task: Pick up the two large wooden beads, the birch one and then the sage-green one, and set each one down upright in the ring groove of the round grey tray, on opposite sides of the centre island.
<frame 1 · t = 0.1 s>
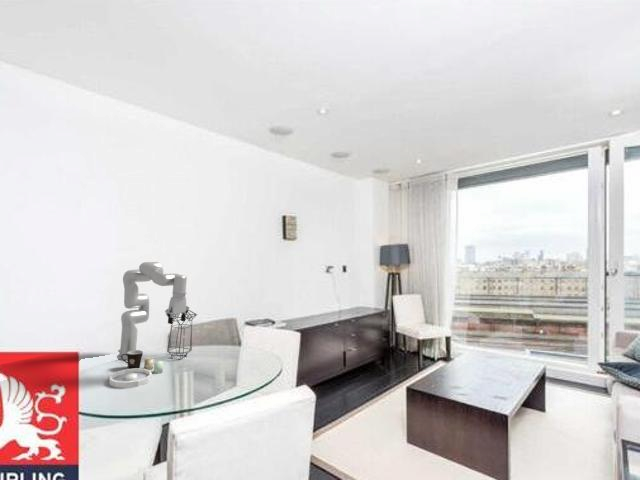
hand: (176, 322, 212), 31 cm above the table, tool pointing down, fingers open, 9 cm apart
geometric lantern: (179, 356, 240), on the table
groove tray: (130, 380, 195), on the table
coffee mug: (131, 368, 214), on the table
sage bead: (157, 372, 210), on the table
birch bead: (148, 368, 214), on the table
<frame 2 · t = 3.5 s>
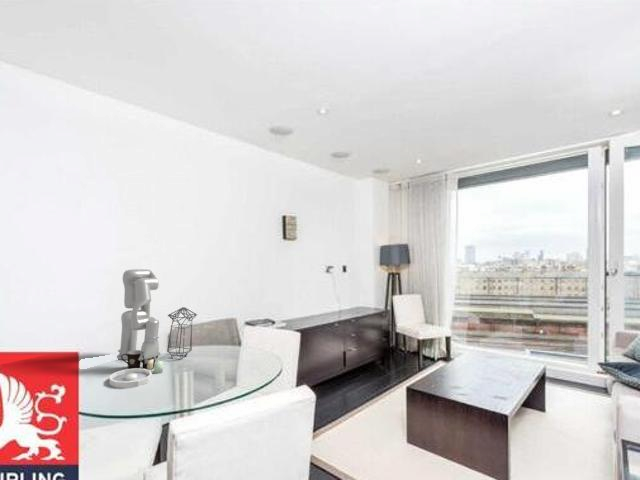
hand: (148, 368, 214), 0 cm above the table, tool pointing down, fingers closed on birch bead, 4 cm apart
birch bead: (148, 368, 214), on the table, touching gripper
everything else where it was.
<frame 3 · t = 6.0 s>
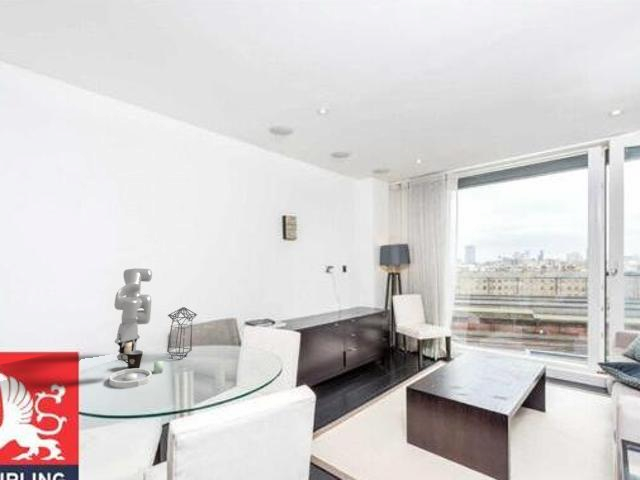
hand: (126, 351, 199), 15 cm above the table, tool pointing down, fingers closed on birch bead, 4 cm apart
birch bead: (126, 352, 198), point 15 cm above the table, touching gripper
everything else where it was.
when the fingers open (3 cm above the table, at t = 8.5 s): birch bead drops 1 cm, resting on groove tray.
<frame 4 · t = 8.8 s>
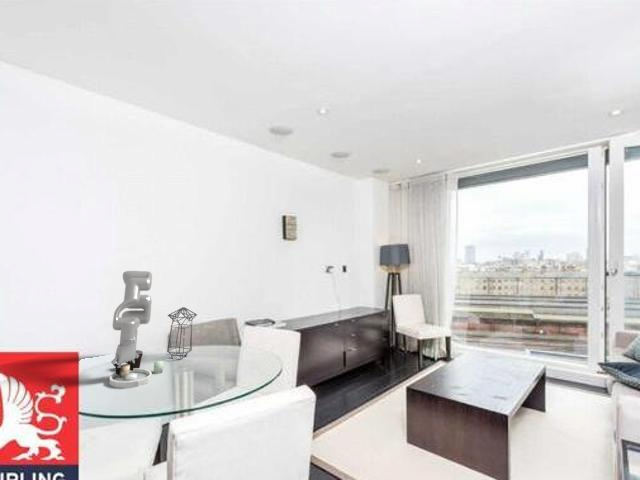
hand: (124, 371, 198), 3 cm above the table, tool pointing down, fingers open, 7 cm apart
birch bead: (124, 375, 198), point 1 cm above the table, touching groove tray
everything else where it was.
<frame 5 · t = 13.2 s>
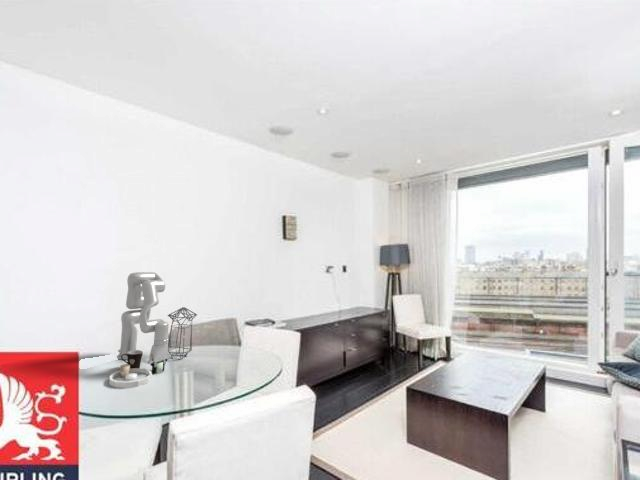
hand: (158, 371, 210), 0 cm above the table, tool pointing down, fingers closed on sage bead, 4 cm apart
sage bead: (158, 372, 210), on the table, touching gripper
everything else where it was.
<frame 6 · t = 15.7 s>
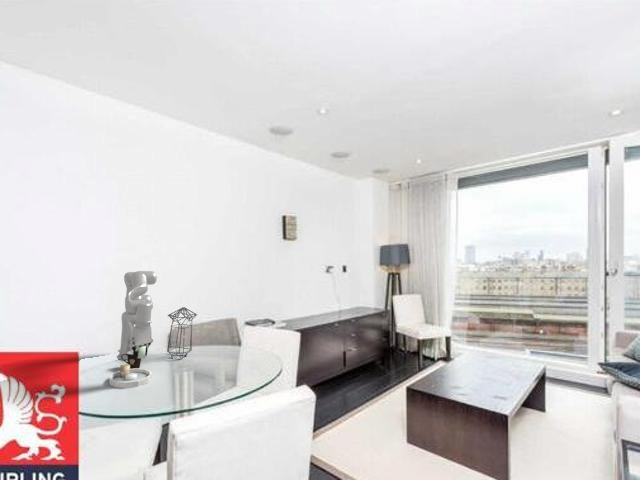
hand: (140, 356, 193), 15 cm above the table, tool pointing down, fingers closed on sage bead, 4 cm apart
sage bead: (140, 356, 193), point 15 cm above the table, touching gripper
everything else where it was.
when the fingers open (3 cm above the table, at t = 18.3 s): sage bead drops 1 cm, resting on groove tray.
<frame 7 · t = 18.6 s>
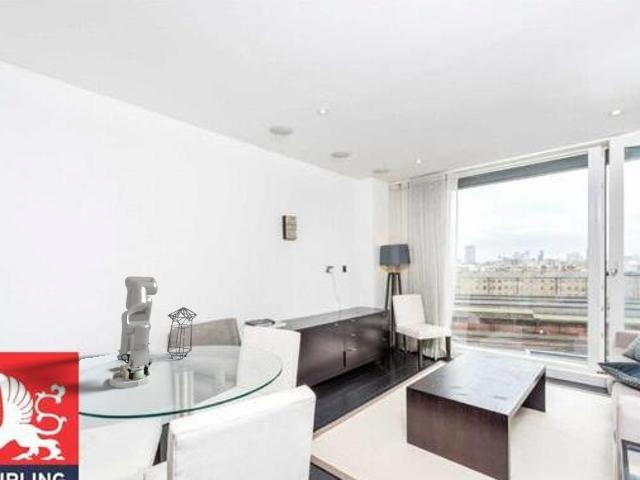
hand: (138, 376, 192), 4 cm above the table, tool pointing down, fingers open, 8 cm apart
sage bead: (138, 381, 192), point 1 cm above the table, touching groove tray
everything else where it was.
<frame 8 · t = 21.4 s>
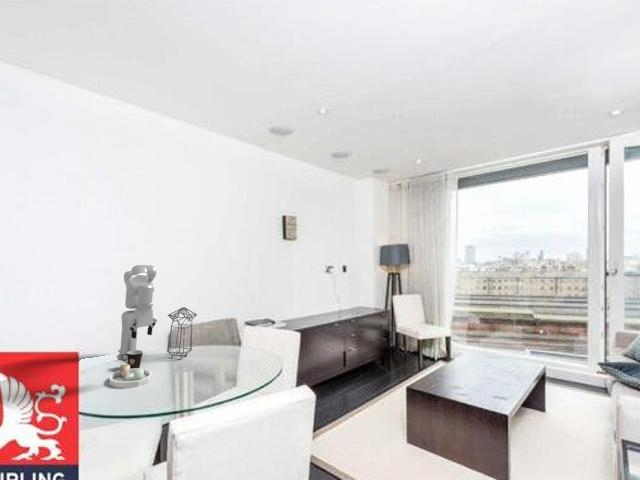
hand: (141, 336, 193), 26 cm above the table, tool pointing down, fingers open, 9 cm apart
nothing on the table moved.
at the end: birch bead inside the target area on the groove tray (0.0 cm from its centre), point 1.0 cm above the groove tray's base; sage bead inside the target area on the groove tray (0.1 cm from its centre), point 1.0 cm above the groove tray's base; coffee mug moved 0.2 cm from its start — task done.
